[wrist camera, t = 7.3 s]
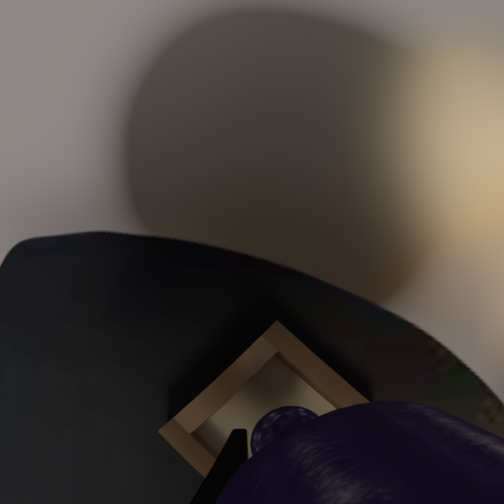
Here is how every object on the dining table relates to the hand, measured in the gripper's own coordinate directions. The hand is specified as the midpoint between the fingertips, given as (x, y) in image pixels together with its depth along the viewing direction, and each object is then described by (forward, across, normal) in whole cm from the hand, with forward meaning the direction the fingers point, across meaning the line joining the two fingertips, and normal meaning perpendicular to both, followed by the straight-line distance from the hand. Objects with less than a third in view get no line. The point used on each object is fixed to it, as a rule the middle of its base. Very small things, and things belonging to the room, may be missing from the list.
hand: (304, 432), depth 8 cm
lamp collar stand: (+8, 0, +10) cm, 13 cm away
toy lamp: (+5, 0, +6) cm, 8 cm away
